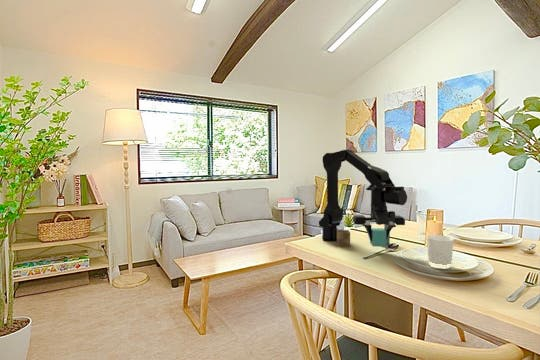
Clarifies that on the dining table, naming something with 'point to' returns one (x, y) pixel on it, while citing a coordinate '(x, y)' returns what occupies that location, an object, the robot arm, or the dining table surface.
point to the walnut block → (343, 238)
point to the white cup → (440, 249)
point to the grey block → (388, 240)
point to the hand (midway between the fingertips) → (377, 241)
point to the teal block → (378, 237)
